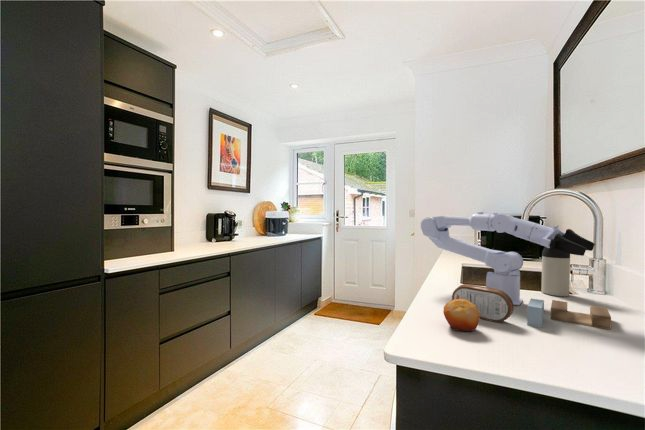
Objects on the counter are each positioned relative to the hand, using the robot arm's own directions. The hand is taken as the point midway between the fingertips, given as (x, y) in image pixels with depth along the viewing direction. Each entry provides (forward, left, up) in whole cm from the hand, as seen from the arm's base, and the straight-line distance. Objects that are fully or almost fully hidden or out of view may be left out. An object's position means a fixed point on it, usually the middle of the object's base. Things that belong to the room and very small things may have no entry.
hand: (589, 249), depth 86 cm
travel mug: (-8, +27, -19) cm, 34 cm away
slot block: (-2, -2, -19) cm, 19 cm away
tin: (-23, -18, -19) cm, 35 cm away
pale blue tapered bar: (-11, -12, -19) cm, 25 cm away
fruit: (-25, -30, -19) cm, 44 cm away
